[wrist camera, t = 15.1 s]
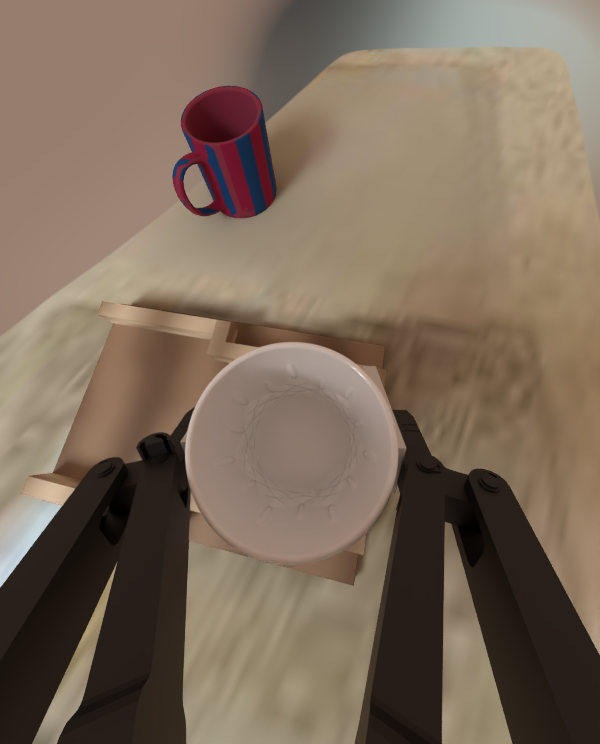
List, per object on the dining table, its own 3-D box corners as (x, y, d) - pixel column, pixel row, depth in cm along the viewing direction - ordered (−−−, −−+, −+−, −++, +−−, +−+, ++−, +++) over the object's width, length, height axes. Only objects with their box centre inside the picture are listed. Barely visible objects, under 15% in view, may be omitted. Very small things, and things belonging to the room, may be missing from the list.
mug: (289, 189, 27) (279, 107, 20) (219, 251, 25) (184, 186, 19) (246, 158, 28) (224, 74, 22) (178, 216, 27) (132, 144, 20)
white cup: (233, 470, 19) (145, 502, 9) (277, 373, 21) (240, 315, 11) (334, 518, 18) (353, 614, 8) (372, 411, 19) (426, 384, 10)
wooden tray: (52, 497, 21) (15, 505, 18) (127, 308, 25) (105, 293, 22) (352, 579, 18) (357, 602, 15) (382, 349, 22) (391, 337, 19)
